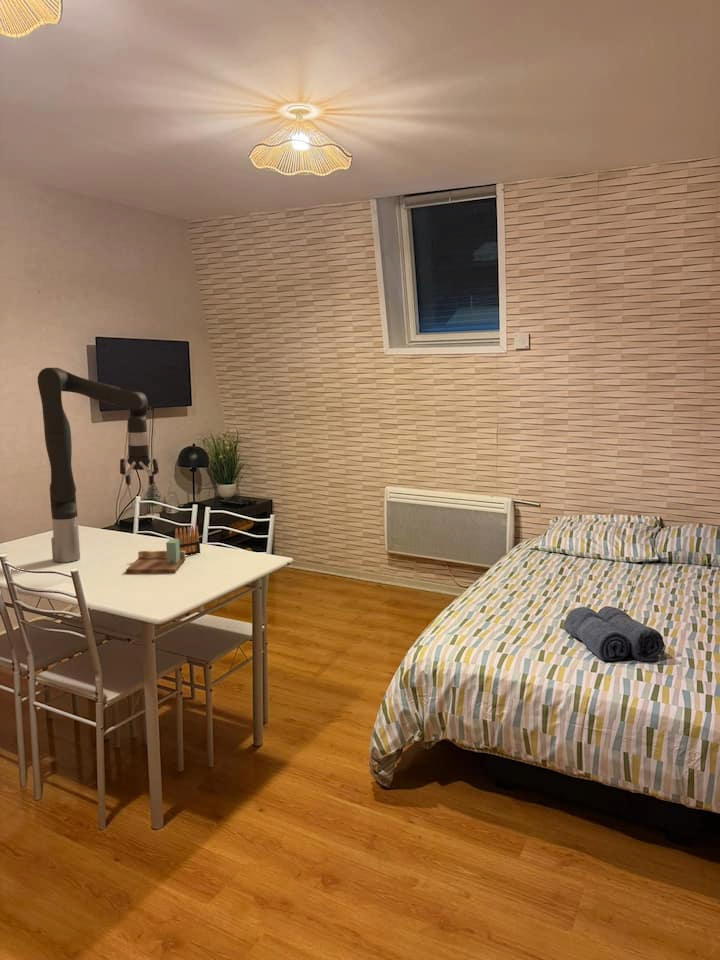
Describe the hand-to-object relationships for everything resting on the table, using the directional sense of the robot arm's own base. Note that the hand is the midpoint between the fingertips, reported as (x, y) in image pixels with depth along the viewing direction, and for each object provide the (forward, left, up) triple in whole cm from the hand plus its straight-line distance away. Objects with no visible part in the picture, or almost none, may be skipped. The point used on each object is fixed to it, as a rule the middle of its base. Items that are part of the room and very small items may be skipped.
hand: (140, 484), depth 263 cm
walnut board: (+8, -10, -30) cm, 33 cm away
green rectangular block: (+14, -8, -29) cm, 33 cm away
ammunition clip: (+16, +6, -30) cm, 35 cm away
